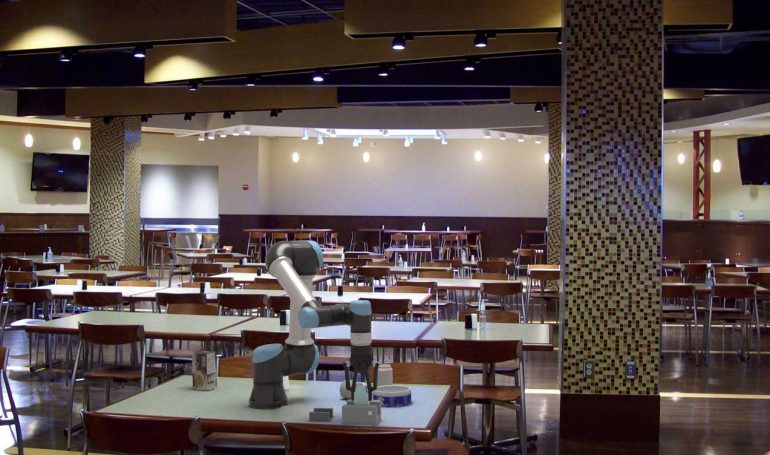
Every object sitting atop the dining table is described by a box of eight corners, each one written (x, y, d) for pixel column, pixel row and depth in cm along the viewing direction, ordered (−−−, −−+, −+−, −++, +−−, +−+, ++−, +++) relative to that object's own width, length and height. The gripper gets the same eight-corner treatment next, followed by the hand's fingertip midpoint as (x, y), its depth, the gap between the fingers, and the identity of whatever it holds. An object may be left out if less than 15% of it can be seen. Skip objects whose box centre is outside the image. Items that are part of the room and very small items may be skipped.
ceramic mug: (354, 402, 336) (354, 382, 336) (339, 399, 341) (339, 380, 342) (371, 398, 345) (371, 379, 345) (356, 395, 350) (356, 377, 350)
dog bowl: (366, 406, 329) (366, 390, 329) (381, 398, 343) (380, 383, 343) (403, 408, 324) (403, 393, 324) (416, 400, 338) (416, 385, 338)
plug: (356, 420, 299) (355, 387, 299) (357, 418, 303) (357, 385, 303) (366, 421, 299) (365, 387, 298) (367, 418, 302) (367, 385, 302)
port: (341, 426, 295) (341, 406, 295) (348, 418, 308) (348, 399, 307) (375, 427, 293) (375, 407, 293) (381, 419, 306) (381, 400, 306)
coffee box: (217, 388, 367) (217, 351, 367) (207, 391, 362) (206, 353, 362) (202, 387, 372) (202, 350, 372) (191, 389, 366) (191, 352, 366)
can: (372, 394, 350) (371, 365, 350) (378, 391, 357) (378, 363, 357) (388, 396, 347) (388, 366, 347) (395, 392, 354) (395, 364, 354)
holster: (307, 424, 300) (307, 412, 300) (313, 418, 309) (313, 407, 309) (329, 424, 299) (329, 413, 299) (334, 418, 308) (334, 407, 308)
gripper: (335, 345, 298) (336, 411, 298) (382, 345, 296) (383, 412, 296) (340, 342, 306) (341, 407, 306) (385, 342, 303) (386, 408, 303)
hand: (361, 409), depth 301 cm, fingers closed on plug, 4 cm apart
